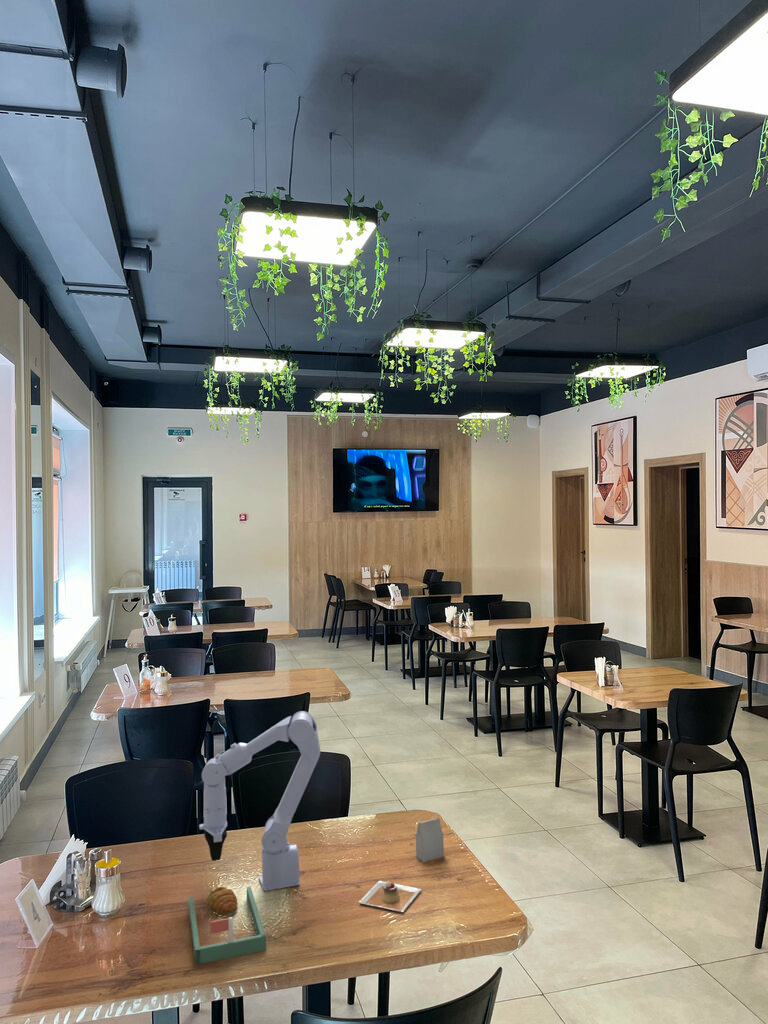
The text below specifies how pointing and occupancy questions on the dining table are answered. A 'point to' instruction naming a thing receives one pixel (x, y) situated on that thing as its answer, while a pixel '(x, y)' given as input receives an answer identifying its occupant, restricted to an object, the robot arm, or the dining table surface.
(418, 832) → the grey tall block
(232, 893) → the pastry
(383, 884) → the dessert
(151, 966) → the dining table surface
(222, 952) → the putting corral
